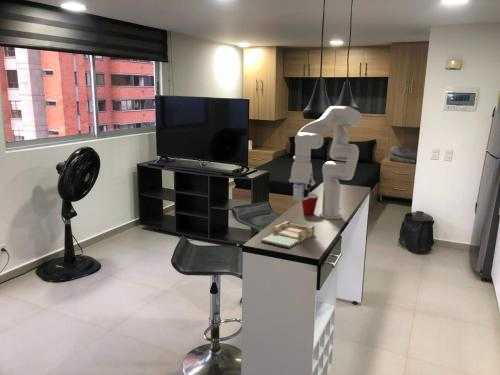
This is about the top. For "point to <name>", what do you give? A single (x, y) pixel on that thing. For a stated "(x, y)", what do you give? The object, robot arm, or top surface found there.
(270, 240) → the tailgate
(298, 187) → the medicine box
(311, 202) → the plastic cup
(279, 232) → the beige square tray
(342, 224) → the top surface
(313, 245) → the top surface
